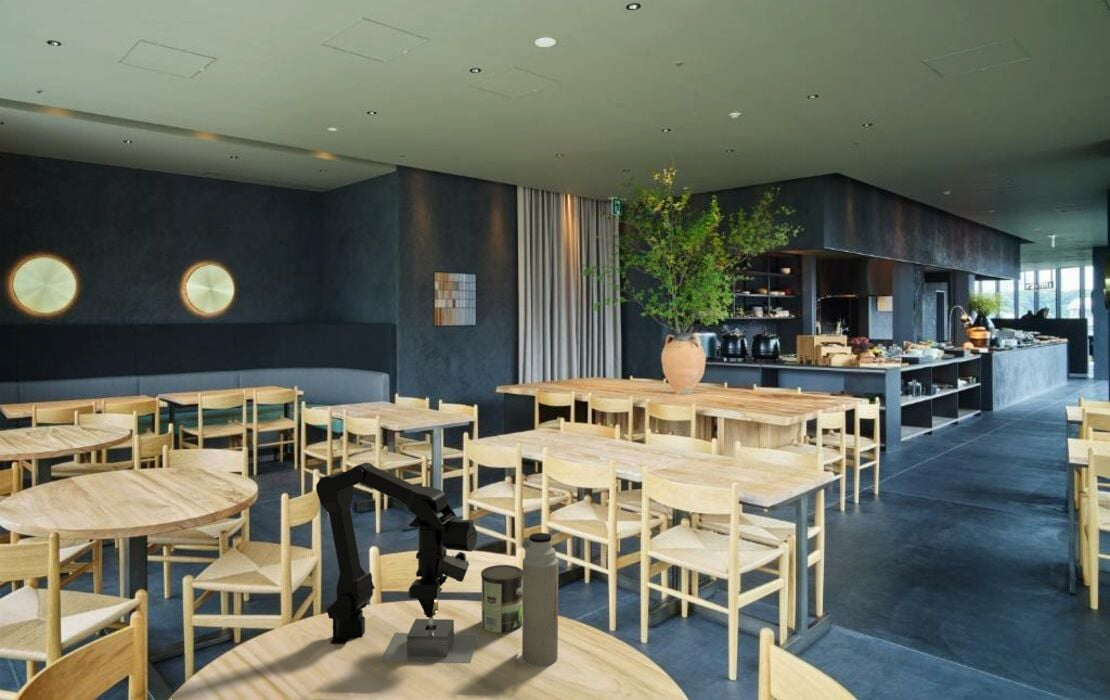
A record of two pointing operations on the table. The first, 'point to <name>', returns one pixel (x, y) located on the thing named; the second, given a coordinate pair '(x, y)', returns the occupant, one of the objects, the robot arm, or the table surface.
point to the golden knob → (435, 612)
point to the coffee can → (502, 598)
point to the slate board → (457, 654)
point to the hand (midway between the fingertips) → (430, 613)
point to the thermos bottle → (540, 602)
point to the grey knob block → (430, 638)
